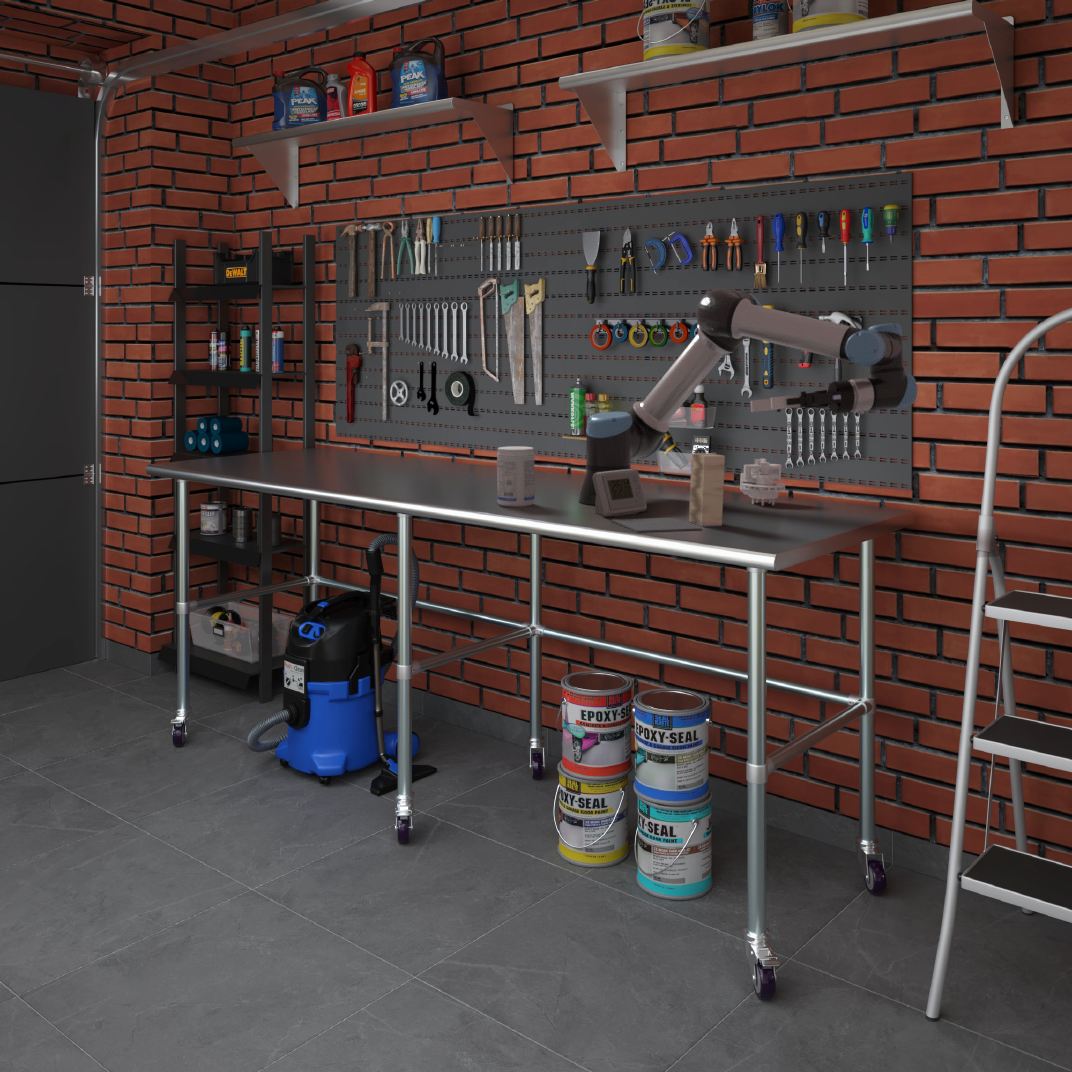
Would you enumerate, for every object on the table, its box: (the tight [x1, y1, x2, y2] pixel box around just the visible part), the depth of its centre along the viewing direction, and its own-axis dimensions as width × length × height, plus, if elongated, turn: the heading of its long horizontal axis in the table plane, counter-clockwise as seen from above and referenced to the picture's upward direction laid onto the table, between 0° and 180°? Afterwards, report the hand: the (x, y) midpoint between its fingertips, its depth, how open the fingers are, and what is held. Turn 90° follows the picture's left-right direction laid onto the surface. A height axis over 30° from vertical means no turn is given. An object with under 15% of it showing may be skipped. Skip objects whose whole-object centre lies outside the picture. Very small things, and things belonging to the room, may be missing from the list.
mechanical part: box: [739, 458, 786, 506], centre depth 274 cm, size 11×12×12 cm
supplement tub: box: [496, 445, 536, 508], centre depth 266 cm, size 10×10×15 cm
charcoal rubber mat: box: [611, 517, 703, 533], centre depth 236 cm, size 16×16×1 cm
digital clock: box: [593, 468, 648, 518], centre depth 253 cm, size 16×9×11 cm, turn 124°
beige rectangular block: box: [688, 452, 726, 528], centre depth 238 cm, size 7×5×16 cm
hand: (760, 404), depth 238 cm, fingers open, 13 cm apart
